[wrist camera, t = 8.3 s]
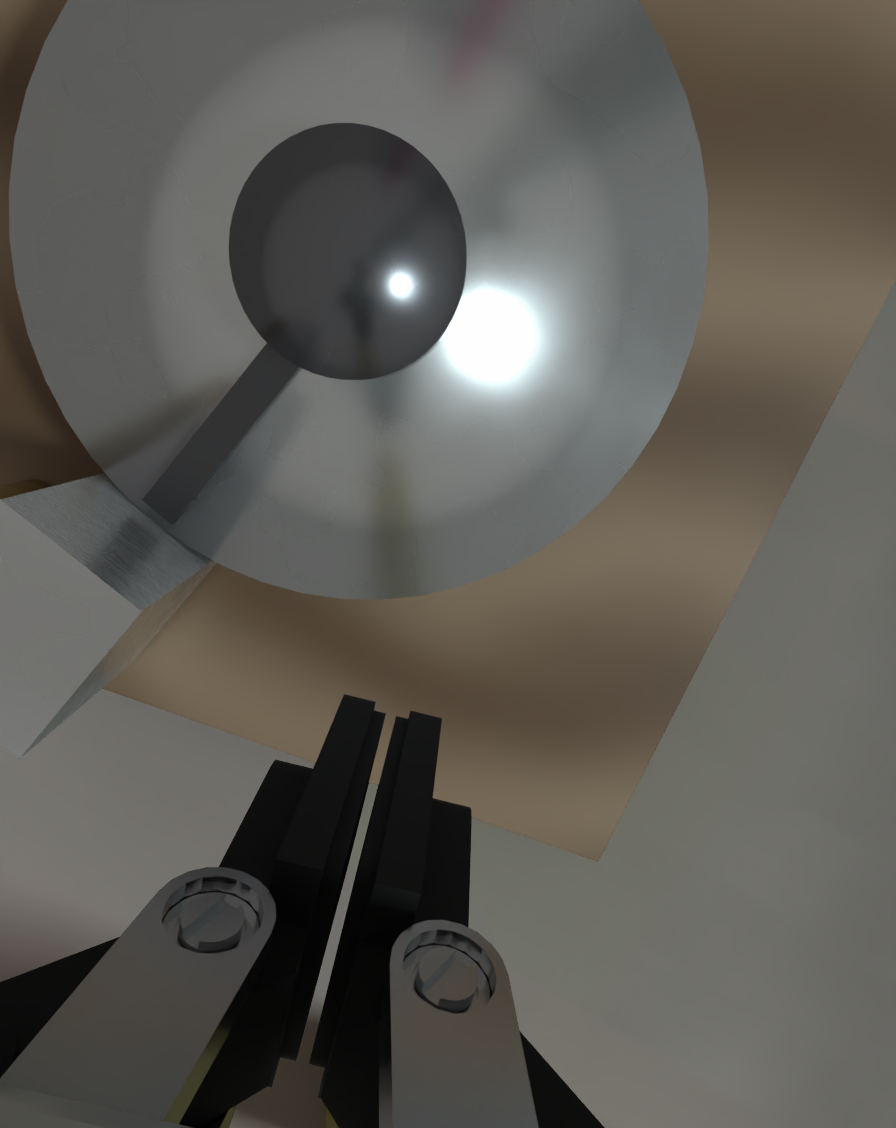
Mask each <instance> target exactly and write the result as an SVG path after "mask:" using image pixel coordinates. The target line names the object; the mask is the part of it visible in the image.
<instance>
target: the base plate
mask: <svg viewBox="0 0 896 1128" xmlns="http://www.w3.org/2000/svg"><path fill="white" fill-rule="evenodd" d="M66 2H67V0H0V500H1V499H4V498H8V497H12V496H16V495H20V494H24V493H28V492H32V491H36V490H40V489H44V488H48V487H52V486H56V485H60V484H63V483H67V482H71V481H75V480H79V479H83V478H87V477H91V476H95V475H99V474H103V473H105V472H104V471H103V470H102V469H101V468H100V467H99V465H98V464H97V463H96V462H95V461H94V460H93V458H92V457H91V456H90V454H89V453H88V451H87V450H86V448H85V447H84V445H83V444H82V442H81V441H80V440H79V438H78V437H77V435H76V434H75V432H74V431H73V429H72V428H71V426H70V425H69V423H68V422H67V420H66V419H65V417H64V415H63V413H62V411H61V409H60V407H59V405H58V403H57V401H56V399H55V397H54V396H53V394H52V392H51V390H50V388H49V386H48V384H47V382H46V380H45V378H44V376H43V373H42V370H41V368H40V365H39V362H38V360H37V357H36V355H35V352H34V349H33V347H32V344H31V341H30V339H29V336H28V333H27V329H26V325H25V321H24V318H23V314H22V310H21V306H20V302H19V298H18V294H17V290H16V285H15V277H14V270H13V262H12V254H11V247H10V239H9V183H10V174H11V165H12V156H13V148H14V139H15V135H16V130H17V126H18V122H19V118H20V114H21V110H22V106H23V101H24V97H25V93H26V89H27V87H28V84H29V81H30V79H31V76H32V74H33V71H34V68H35V66H36V63H37V61H38V58H39V55H40V53H41V50H42V48H43V45H44V42H45V40H46V39H47V37H48V35H49V33H50V31H51V29H52V28H53V26H54V24H55V22H56V20H57V19H58V17H59V15H60V13H61V11H62V9H63V8H64V6H65V4H66ZM639 2H640V3H641V5H642V7H643V9H644V10H645V12H646V14H647V15H648V17H649V19H650V21H651V22H652V24H653V26H654V27H655V29H656V31H657V32H658V34H659V36H660V38H661V39H662V41H663V43H664V44H665V46H666V48H667V51H668V53H669V56H670V58H671V60H672V63H673V65H674V67H675V70H676V72H677V74H678V77H679V79H680V82H681V84H682V86H683V89H684V91H685V93H686V96H687V100H688V103H689V107H690V111H691V114H692V118H693V121H694V125H695V129H696V132H697V136H698V139H699V143H700V148H701V154H702V161H703V168H704V175H705V182H706V188H707V195H708V233H709V250H708V260H707V270H706V280H705V290H704V298H703V302H702V307H701V311H700V316H699V320H698V325H697V329H696V334H695V338H694V342H693V345H692V348H691V351H690V354H689V357H688V360H687V362H686V365H685V368H684V371H683V374H682V376H681V379H680V382H679V385H678V388H677V390H676V392H675V394H674V396H673V398H672V400H671V402H670V404H669V406H668V408H667V410H666V412H665V414H664V416H663V418H662V420H661V422H660V424H659V426H658V428H657V429H656V431H655V432H654V434H653V435H652V437H651V438H650V440H649V441H648V443H647V444H646V446H645V447H644V449H643V450H642V452H641V453H640V455H639V457H638V458H637V460H636V461H635V463H634V464H633V466H632V467H631V468H630V469H629V470H628V471H627V473H626V474H625V475H624V476H623V477H622V478H621V480H620V481H619V482H618V483H617V484H616V485H615V487H614V488H613V489H612V490H611V491H610V492H609V494H608V495H607V496H606V497H605V498H604V499H603V500H602V501H601V502H600V503H599V504H598V505H597V506H596V507H595V508H593V509H592V510H591V511H590V512H589V513H588V514H587V515H586V516H585V517H584V518H582V519H581V520H580V521H579V522H578V523H577V524H576V525H575V526H574V527H573V528H571V529H570V530H568V531H567V532H566V533H564V534H563V535H561V536H560V537H558V538H557V539H556V540H554V541H553V542H551V543H550V544H549V545H547V546H546V547H544V548H543V549H541V550H540V551H539V552H537V553H535V554H533V555H531V556H529V557H528V558H526V559H524V560H522V561H520V562H518V563H516V564H514V565H512V566H511V567H509V568H507V569H505V570H503V571H501V572H498V573H496V574H493V575H490V576H488V577H485V578H482V579H480V580H477V581H475V582H472V583H469V584H467V585H464V586H460V587H456V588H452V589H448V590H444V591H439V592H435V593H431V594H427V595H422V596H412V597H403V598H394V599H384V600H374V599H340V598H333V597H326V596H319V595H312V594H305V593H300V592H296V591H293V590H289V589H286V588H282V587H278V586H275V585H271V584H267V583H264V582H261V581H258V580H256V579H253V578H251V577H249V576H246V575H244V574H241V573H239V572H236V571H234V570H232V569H229V568H227V567H224V566H222V565H221V564H219V563H216V565H215V566H214V567H213V568H212V569H211V570H210V572H209V573H208V574H207V575H206V576H205V578H204V579H203V580H202V581H201V582H200V584H199V585H198V586H197V587H196V588H195V589H194V591H193V592H192V593H191V594H190V595H189V597H188V598H187V599H186V600H185V601H184V602H183V604H182V605H181V606H180V607H179V608H178V610H177V611H176V612H175V613H174V614H173V615H172V617H171V618H170V619H169V620H168V621H167V623H166V624H165V625H164V626H163V627H162V629H161V630H160V631H159V632H158V633H157V634H156V636H155V637H154V638H153V639H152V640H151V642H150V643H149V644H148V645H147V646H146V647H145V649H144V650H143V651H142V652H141V653H140V655H139V656H138V657H137V658H136V659H135V660H134V662H133V663H131V664H130V665H129V666H128V667H127V668H126V669H124V670H123V671H122V672H121V673H120V674H119V675H117V676H116V677H115V678H114V679H113V680H111V681H110V682H109V683H108V684H107V685H106V686H104V687H103V688H102V689H105V690H108V691H111V692H114V693H117V694H120V695H123V696H125V697H128V698H131V699H134V700H137V701H140V702H143V703H145V704H148V705H151V706H154V707H157V708H160V709H163V710H165V711H168V712H171V713H174V714H177V715H180V716H183V717H185V718H188V719H191V720H194V721H197V722H200V723H203V724H205V725H208V726H211V727H214V728H217V729H220V730H223V731H226V732H228V733H231V734H234V735H237V736H240V737H243V738H246V739H248V740H251V741H254V742H257V743H260V744H263V745H266V746H268V747H271V748H274V749H277V750H280V751H283V752H286V753H288V754H291V755H294V756H297V757H300V758H303V759H306V760H309V761H311V762H314V763H316V761H317V758H318V756H319V754H320V751H321V749H322V746H323V744H324V741H325V739H326V737H327V734H328V732H329V729H330V727H331V724H332V722H333V720H334V717H335V715H336V712H337V710H338V707H339V705H340V703H341V700H342V698H343V696H344V694H346V695H350V696H354V697H358V698H362V699H366V700H370V701H374V702H376V703H375V708H374V710H375V711H379V712H383V713H386V715H385V720H384V724H383V728H382V732H381V736H380V740H379V744H378V748H377V752H376V756H375V760H374V764H373V768H372V772H371V776H370V780H369V782H371V783H374V784H377V785H379V781H380V777H381V773H382V769H383V766H384V762H385V758H386V754H387V750H388V746H389V742H390V738H391V734H392V730H393V726H394V722H395V718H396V716H399V717H403V718H407V719H408V718H409V714H410V711H415V712H419V713H423V714H427V715H431V716H435V717H439V718H442V723H441V732H440V740H439V749H438V757H437V766H436V774H435V783H434V791H433V798H434V799H438V800H442V801H447V802H451V803H455V804H459V805H463V806H467V807H470V808H471V814H472V818H474V819H477V820H480V821H483V822H486V823H489V824H492V825H495V826H497V827H500V828H503V829H506V830H509V831H512V832H515V833H517V834H520V835H523V836H526V837H529V838H532V839H535V840H537V841H540V842H543V843H546V844H549V845H552V846H555V847H557V848H560V849H563V850H566V851H569V852H572V853H575V854H578V855H580V856H583V857H586V858H589V859H592V860H595V861H599V859H600V857H601V855H602V853H603V851H604V849H605V847H606V845H607V843H608V841H609V839H610V838H611V836H612V834H613V832H614V830H615V828H616V826H617V824H618V822H619V820H620V818H621V816H622V814H623V812H624V810H625V808H626V806H627V804H628V802H629V800H630V798H631V796H632V795H633V793H634V791H635V789H636V787H637V785H638V783H639V781H640V779H641V777H642V775H643V773H644V771H645V769H646V767H647V765H648V763H649V761H650V759H651V757H652V755H653V753H654V752H655V750H656V748H657V746H658V744H659V742H660V740H661V738H662V736H663V734H664V732H665V730H666V728H667V726H668V724H669V722H670V720H671V718H672V716H673V714H674V712H675V710H676V708H677V707H678V705H679V703H680V701H681V699H682V697H683V695H684V693H685V691H686V689H687V687H688V685H689V683H690V681H691V679H692V677H693V675H694V673H695V671H696V669H697V667H698V665H699V664H700V662H701V660H702V658H703V656H704V654H705V652H706V650H707V648H708V646H709V644H710V642H711V640H712V638H713V636H714V634H715V632H716V630H717V628H718V626H719V624H720V622H721V621H722V619H723V617H724V615H725V613H726V611H727V609H728V607H729V605H730V603H731V601H732V599H733V597H734V595H735V593H736V591H737V589H738V587H739V585H740V583H741V581H742V579H743V578H744V576H745V574H746V572H747V570H748V568H749V566H750V564H751V562H752V560H753V558H754V556H755V554H756V552H757V550H758V548H759V546H760V544H761V542H762V540H763V538H764V536H765V535H766V533H767V531H768V529H769V527H770V525H771V523H772V521H773V519H774V517H775V515H776V513H777V511H778V509H779V507H780V505H781V503H782V501H783V499H784V497H785V495H786V493H787V492H788V490H789V488H790V486H791V484H792V482H793V480H794V478H795V476H796V474H797V472H798V470H799V468H800V466H801V464H802V462H803V460H804V458H805V456H806V454H807V452H808V450H809V449H810V447H811V445H812V443H813V441H814V439H815V437H816V435H817V433H818V431H819V429H820V427H821V425H822V423H823V421H824V419H825V417H826V415H827V413H828V411H829V409H830V407H831V405H832V404H833V402H834V400H835V398H836V396H837V394H838V392H839V390H840V388H841V386H842V384H843V382H844V380H845V378H846V376H847V374H848V372H849V370H850V368H851V366H852V364H853V362H854V361H855V359H856V357H857V355H858V353H859V351H860V349H861V347H862V345H863V343H864V341H865V339H866V337H867V335H868V333H869V331H870V329H871V327H872V325H873V323H874V321H875V319H876V318H877V316H878V314H879V312H880V310H881V308H882V306H883V304H884V302H885V300H886V298H887V296H888V294H889V292H890V290H891V288H892V286H893V284H894V282H895V280H896V0H639Z"/></svg>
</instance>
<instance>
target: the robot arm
mask: <svg viewBox="0 0 896 1128" xmlns="http://www.w3.org/2000/svg"><path fill="white" fill-rule="evenodd" d="M375 703H376V702H374V701H370V700H366V699H362V698H358V697H354V696H350V695H346V694H344V696H343V698H342V700H341V703H340V705H339V707H338V710H337V712H336V715H335V717H334V720H333V722H332V724H331V727H330V729H329V732H328V734H327V737H326V739H325V741H324V744H323V746H322V749H321V751H320V754H319V756H318V758H317V761H316V763H315V766H314V768H313V769H312V768H307V767H303V766H299V765H295V764H291V763H287V762H283V761H279V760H275V761H274V762H273V764H272V765H271V767H270V769H269V771H268V773H267V775H266V777H265V779H264V780H263V782H262V784H261V786H260V788H259V790H258V792H257V794H256V796H255V798H254V800H253V802H252V804H251V806H250V808H249V810H248V811H247V813H246V815H245V817H244V819H243V821H242V823H241V825H240V827H239V829H238V831H237V833H236V835H235V837H234V839H233V840H232V842H231V844H230V846H229V848H228V850H227V852H226V854H225V856H224V858H223V860H222V862H221V864H220V866H219V867H206V868H202V869H197V870H193V871H189V872H186V873H184V874H182V875H180V876H178V877H176V878H174V879H172V880H171V881H170V882H169V883H167V884H166V885H165V886H164V887H163V888H162V889H161V890H159V891H158V892H157V894H156V895H155V896H154V897H153V898H152V899H151V901H150V902H149V903H148V904H147V905H146V907H145V908H144V909H143V910H142V911H141V912H140V914H139V915H138V916H137V917H136V918H135V920H134V921H133V922H132V923H131V924H130V925H129V927H128V928H127V929H126V930H125V931H124V933H123V934H122V935H121V936H120V937H118V938H115V939H113V940H110V941H108V942H105V943H102V944H100V945H97V946H94V947H92V948H89V949H87V950H84V951H81V952H79V953H76V954H73V955H71V956H68V957H66V958H63V959H60V960H58V961H55V962H52V963H50V964H47V965H45V966H42V967H39V968H37V969H34V970H31V971H29V972H26V973H24V974H21V975H18V976H16V977H13V978H10V979H8V980H5V981H3V982H0V1128H229V1126H230V1123H231V1120H232V1117H233V1114H234V1111H235V1106H236V1105H237V1104H239V1103H241V1102H242V1101H244V1100H245V1099H247V1098H249V1097H250V1096H252V1095H254V1094H255V1093H257V1092H259V1091H260V1090H262V1089H264V1088H265V1087H267V1086H270V1087H272V1084H273V1080H274V1077H275V1073H276V1070H277V1066H278V1063H279V1059H280V1057H282V1058H287V1059H291V1060H295V1061H296V1058H297V1055H298V1051H299V1047H300V1044H301V1040H302V1036H303V1032H304V1029H305V1025H306V1021H307V1017H308V1014H309V1010H310V1006H311V1002H312V999H313V995H314V991H315V987H316V984H317V980H318V976H319V972H320V969H321V965H322V961H323V957H324V954H325V950H326V946H327V942H328V939H329V935H330V931H331V928H332V924H333V920H334V916H335V913H336V909H337V905H338V901H339V898H340V894H341V890H342V886H343V883H344V879H345V875H346V871H347V868H348V864H349V860H350V856H351V852H352V848H353V844H354V840H355V836H356V832H357V828H358V824H359V820H360V816H361V812H362V808H363V804H364V800H365V796H366V792H367V788H368V784H369V780H370V776H371V772H372V768H373V764H374V760H375V756H376V752H377V748H378V744H379V740H380V736H381V732H382V728H383V724H384V720H385V715H386V713H383V712H379V711H375V710H374V708H375ZM441 723H442V718H439V717H435V716H431V715H427V714H423V713H419V712H415V711H410V714H409V718H408V719H407V718H403V717H399V716H396V718H395V722H394V726H393V730H392V734H391V738H390V742H389V746H388V750H387V754H386V758H385V762H384V766H383V769H382V773H381V777H380V781H379V785H378V789H377V793H376V797H375V801H374V805H373V809H372V813H371V817H370V821H369V825H368V829H367V833H366V836H365V840H364V844H363V848H362V852H361V856H360V860H359V864H358V868H357V872H356V876H355V880H354V884H353V888H352V892H351V897H350V901H349V905H348V909H347V913H346V917H345V921H344V925H343V929H342V933H341V937H340V941H339V945H338V949H337V953H336V957H335V961H334V965H333V969H332V973H331V977H330V981H329V985H328V990H327V994H326V998H325V1002H324V1006H323V1010H322V1014H321V1018H320V1022H319V1026H318V1030H317V1034H316V1038H315V1042H314V1046H313V1050H312V1054H311V1058H310V1062H309V1064H312V1065H316V1066H321V1067H325V1069H324V1074H323V1078H322V1083H321V1087H320V1092H319V1096H318V1098H321V1099H322V1101H323V1102H324V1104H325V1106H326V1107H327V1109H328V1111H329V1112H330V1114H331V1116H332V1117H333V1119H334V1121H335V1122H336V1124H337V1125H338V1127H339V1128H604V1127H603V1126H602V1124H601V1123H600V1122H599V1121H598V1120H597V1119H596V1118H595V1116H594V1115H593V1114H592V1113H591V1112H590V1111H589V1110H588V1108H587V1107H586V1106H585V1105H584V1104H583V1103H582V1102H581V1100H580V1099H579V1098H578V1097H577V1096H576V1095H575V1094H574V1093H573V1091H572V1090H571V1089H570V1088H569V1087H568V1086H567V1085H566V1083H565V1082H564V1081H563V1080H562V1079H561V1078H560V1077H559V1075H558V1074H557V1073H556V1072H555V1071H554V1070H553V1069H552V1067H551V1066H550V1065H549V1064H548V1063H547V1062H546V1061H545V1060H544V1058H543V1057H542V1056H541V1055H540V1054H539V1053H538V1052H537V1050H536V1049H535V1048H534V1047H533V1046H532V1045H531V1044H530V1042H529V1041H528V1040H527V1039H526V1038H525V1037H524V1036H523V1034H522V1033H521V1032H520V1031H519V1027H518V1022H517V1017H516V1012H515V1007H514V1002H513V997H512V992H511V987H510V982H509V977H508V973H507V971H506V968H505V965H504V962H503V960H502V958H501V957H500V955H499V954H498V952H497V951H496V950H495V948H494V947H493V945H492V944H491V943H489V942H488V941H487V940H486V939H485V938H484V937H482V936H481V935H480V934H479V933H478V932H476V931H474V930H472V929H470V928H468V919H469V886H470V852H471V818H472V814H471V808H470V807H467V806H463V805H459V804H455V803H451V802H447V801H442V800H438V799H434V798H433V791H434V783H435V774H436V766H437V757H438V749H439V740H440V732H441Z"/></svg>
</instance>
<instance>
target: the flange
mask: <svg viewBox="0 0 896 1128" xmlns="http://www.w3.org/2000/svg"><path fill="white" fill-rule="evenodd" d="M9 239H10V247H11V254H12V262H13V270H14V277H15V285H16V290H17V294H18V298H19V302H20V306H21V310H22V314H23V318H24V321H25V325H26V329H27V333H28V336H29V339H30V341H31V344H32V347H33V349H34V352H35V355H36V357H37V360H38V362H39V365H40V368H41V370H42V373H43V376H44V378H45V380H46V382H47V384H48V386H49V388H50V390H51V392H52V394H53V396H54V397H55V399H56V401H57V403H58V405H59V407H60V409H61V411H62V413H63V415H64V417H65V419H66V420H67V422H68V423H69V425H70V426H71V428H72V429H73V431H74V432H75V434H76V435H77V437H78V438H79V440H80V441H81V442H82V444H83V445H84V447H85V448H86V450H87V451H88V453H89V454H90V456H91V457H92V458H93V460H94V461H95V462H96V463H97V464H98V465H99V467H100V468H101V469H102V470H103V471H104V472H105V473H103V474H99V475H95V476H91V477H87V478H83V479H79V480H75V481H71V482H67V483H63V484H60V485H56V486H52V487H48V488H44V489H40V490H36V491H32V492H28V493H24V494H20V495H16V496H12V497H8V498H4V499H1V500H0V746H1V747H2V748H4V749H5V750H6V751H8V752H9V753H11V754H12V755H13V756H15V757H16V758H17V759H20V758H21V757H22V756H23V755H25V754H26V753H27V752H28V751H29V750H30V749H32V748H33V747H34V746H35V745H36V744H37V743H39V742H40V741H41V740H42V739H43V738H45V737H46V736H47V735H48V734H49V733H50V732H52V731H53V730H54V729H55V728H56V727H57V726H59V725H60V724H61V723H62V722H63V721H64V720H66V719H67V718H68V717H69V716H70V715H72V714H73V713H74V712H75V711H76V710H77V709H79V708H80V707H81V706H82V705H83V704H84V703H86V702H87V701H88V700H89V699H90V698H92V697H93V696H94V695H95V694H96V693H97V692H99V691H100V690H101V689H102V688H103V687H104V686H106V685H107V684H108V683H109V682H110V681H111V680H113V679H114V678H115V677H116V676H117V675H119V674H120V673H121V672H122V671H123V670H124V669H126V668H127V667H128V666H129V665H130V664H131V663H133V662H134V660H135V659H136V658H137V657H138V656H139V655H140V653H141V652H142V651H143V650H144V649H145V647H146V646H147V645H148V644H149V643H150V642H151V640H152V639H153V638H154V637H155V636H156V634H157V633H158V632H159V631H160V630H161V629H162V627H163V626H164V625H165V624H166V623H167V621H168V620H169V619H170V618H171V617H172V615H173V614H174V613H175V612H176V611H177V610H178V608H179V607H180V606H181V605H182V604H183V602H184V601H185V600H186V599H187V598H188V597H189V595H190V594H191V593H192V592H193V591H194V589H195V588H196V587H197V586H198V585H199V584H200V582H201V581H202V580H203V579H204V578H205V576H206V575H207V574H208V573H209V572H210V570H211V569H212V568H213V567H214V566H215V565H216V563H219V564H221V565H222V566H224V567H227V568H229V569H232V570H234V571H236V572H239V573H241V574H244V575H246V576H249V577H251V578H253V579H256V580H258V581H261V582H264V583H267V584H271V585H275V586H278V587H282V588H286V589H289V590H293V591H296V592H300V593H305V594H312V595H319V596H326V597H333V598H340V599H374V600H384V599H394V598H403V597H412V596H422V595H427V594H431V593H435V592H439V591H444V590H448V589H452V588H456V587H460V586H464V585H467V584H469V583H472V582H475V581H477V580H480V579H482V578H485V577H488V576H490V575H493V574H496V573H498V572H501V571H503V570H505V569H507V568H509V567H511V566H512V565H514V564H516V563H518V562H520V561H522V560H524V559H526V558H528V557H529V556H531V555H533V554H535V553H537V552H539V551H540V550H541V549H543V548H544V547H546V546H547V545H549V544H550V543H551V542H553V541H554V540H556V539H557V538H558V537H560V536H561V535H563V534H564V533H566V532H567V531H568V530H570V529H571V528H573V527H574V526H575V525H576V524H577V523H578V522H579V521H580V520H581V519H582V518H584V517H585V516H586V515H587V514H588V513H589V512H590V511H591V510H592V509H593V508H595V507H596V506H597V505H598V504H599V503H600V502H601V501H602V500H603V499H604V498H605V497H606V496H607V495H608V494H609V492H610V491H611V490H612V489H613V488H614V487H615V485H616V484H617V483H618V482H619V481H620V480H621V478H622V477H623V476H624V475H625V474H626V473H627V471H628V470H629V469H630V468H631V467H632V466H633V464H634V463H635V461H636V460H637V458H638V457H639V455H640V453H641V452H642V450H643V449H644V447H645V446H646V444H647V443H648V441H649V440H650V438H651V437H652V435H653V434H654V432H655V431H656V429H657V428H658V426H659V424H660V422H661V420H662V418H663V416H664V414H665V412H666V410H667V408H668V406H669V404H670V402H671V400H672V398H673V396H674V394H675V392H676V390H677V388H678V385H679V382H680V379H681V376H682V374H683V371H684V368H685V365H686V362H687V360H688V357H689V354H690V351H691V348H692V345H693V342H694V338H695V334H696V329H697V325H698V320H699V316H700V311H701V307H702V302H703V298H704V290H705V280H706V270H707V260H708V250H709V233H708V195H707V188H706V182H705V175H704V168H703V161H702V154H701V148H700V143H699V139H698V136H697V132H696V129H695V125H694V121H693V118H692V114H691V111H690V107H689V103H688V100H687V96H686V93H685V91H684V89H683V86H682V84H681V82H680V79H679V77H678V74H677V72H676V70H675V67H674V65H673V63H672V60H671V58H670V56H669V53H668V51H667V48H666V46H665V44H664V43H663V41H662V39H661V38H660V36H659V34H658V32H657V31H656V29H655V27H654V26H653V24H652V22H651V21H650V19H649V17H648V15H647V14H646V12H645V10H644V9H643V7H642V5H641V3H640V2H639V0H67V2H66V4H65V6H64V8H63V9H62V11H61V13H60V15H59V17H58V19H57V20H56V22H55V24H54V26H53V28H52V29H51V31H50V33H49V35H48V37H47V39H46V40H45V42H44V45H43V48H42V50H41V53H40V55H39V58H38V61H37V63H36V66H35V68H34V71H33V74H32V76H31V79H30V81H29V84H28V87H27V89H26V93H25V97H24V101H23V106H22V110H21V114H20V118H19V122H18V126H17V130H16V135H15V139H14V148H13V156H12V165H11V174H10V183H9Z"/></svg>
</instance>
